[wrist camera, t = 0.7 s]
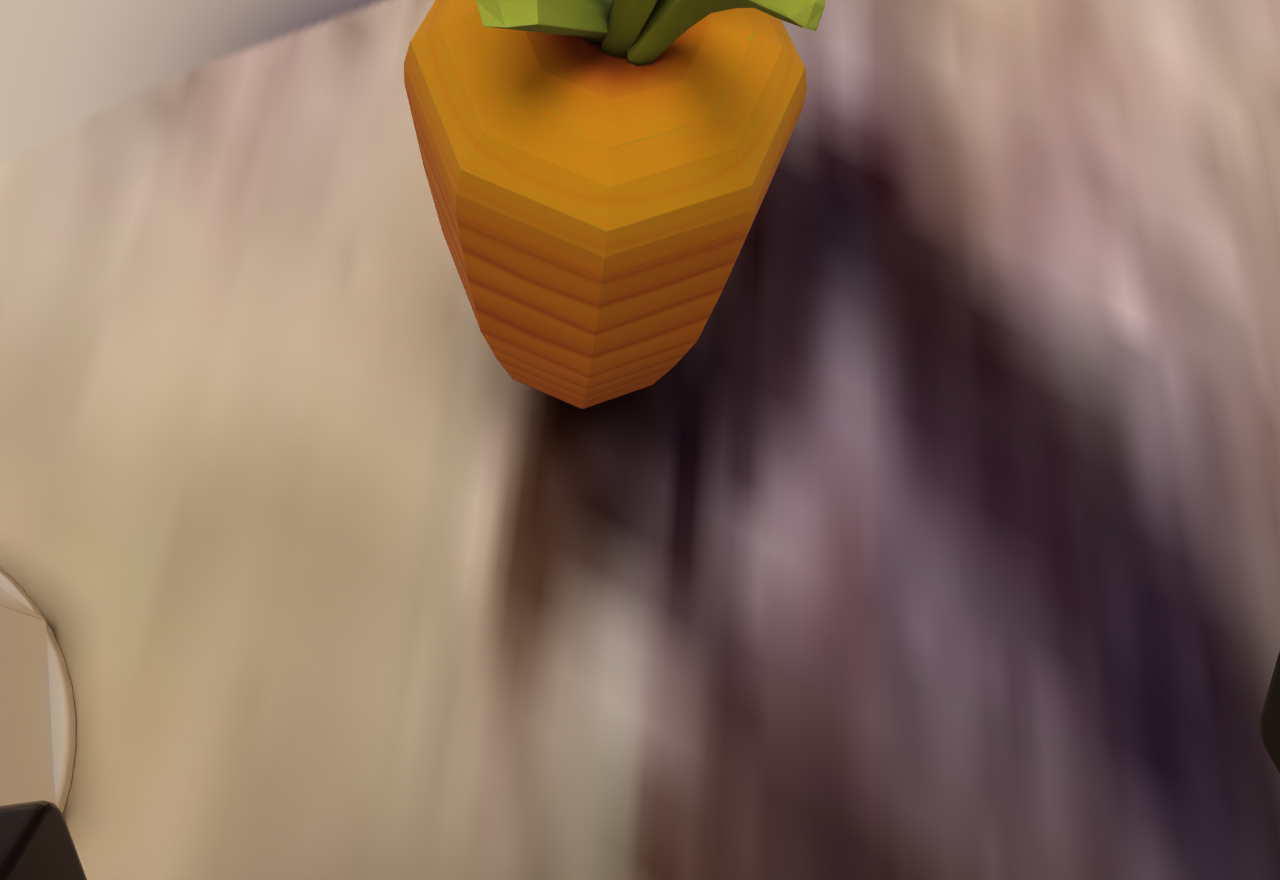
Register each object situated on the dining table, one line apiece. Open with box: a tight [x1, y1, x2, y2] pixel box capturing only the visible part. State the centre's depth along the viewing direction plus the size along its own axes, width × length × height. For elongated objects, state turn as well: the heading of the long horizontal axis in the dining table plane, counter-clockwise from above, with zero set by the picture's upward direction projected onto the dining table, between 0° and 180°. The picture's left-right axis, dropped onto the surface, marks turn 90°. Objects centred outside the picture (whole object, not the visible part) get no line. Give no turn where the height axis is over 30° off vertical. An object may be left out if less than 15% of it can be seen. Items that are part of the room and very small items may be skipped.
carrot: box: [404, 0, 825, 409], centre depth 16 cm, size 5×5×15 cm
